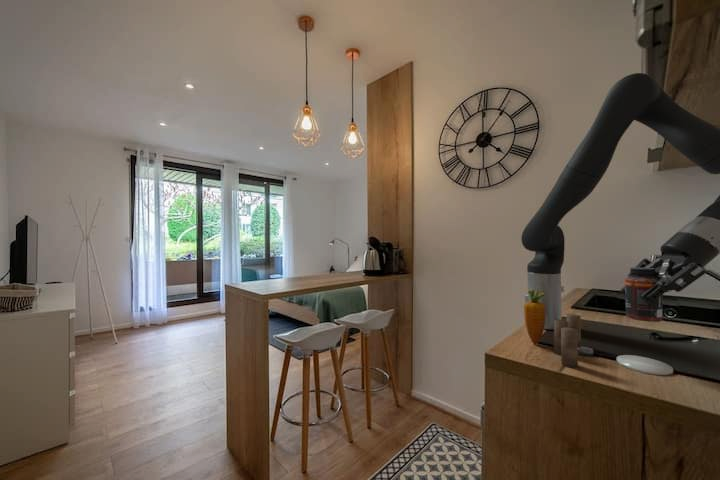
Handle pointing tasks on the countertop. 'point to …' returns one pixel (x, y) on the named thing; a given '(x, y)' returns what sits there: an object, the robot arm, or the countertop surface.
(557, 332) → the post
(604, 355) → the countertop surface
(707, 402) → the countertop surface
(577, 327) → the post
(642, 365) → the coaster
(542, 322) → the carrot
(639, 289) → the supplement bottle
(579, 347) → the nut
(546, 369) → the countertop surface
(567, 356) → the post
